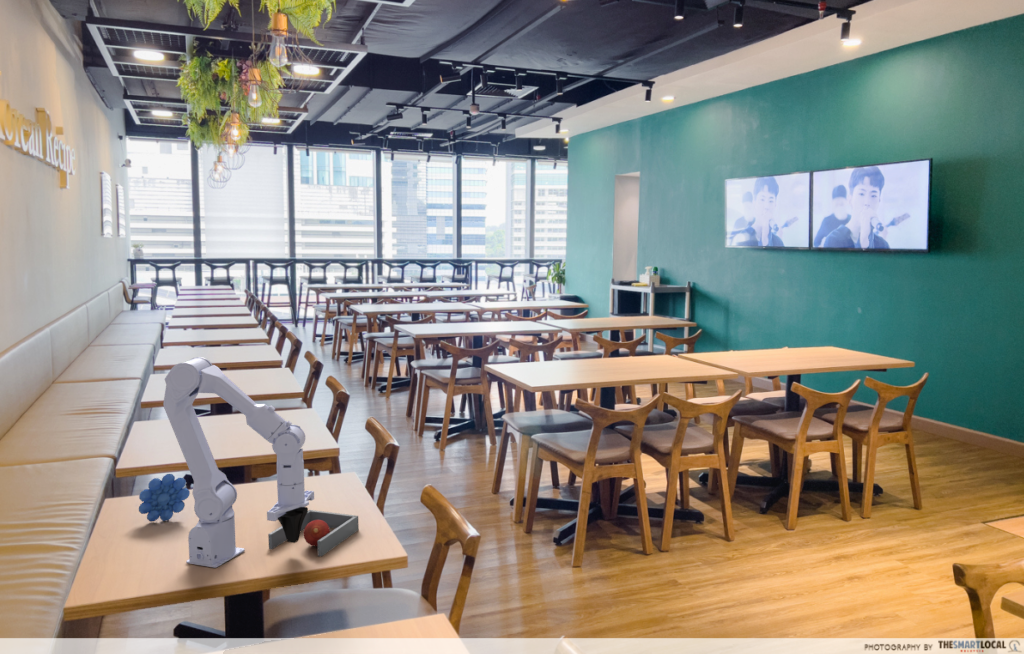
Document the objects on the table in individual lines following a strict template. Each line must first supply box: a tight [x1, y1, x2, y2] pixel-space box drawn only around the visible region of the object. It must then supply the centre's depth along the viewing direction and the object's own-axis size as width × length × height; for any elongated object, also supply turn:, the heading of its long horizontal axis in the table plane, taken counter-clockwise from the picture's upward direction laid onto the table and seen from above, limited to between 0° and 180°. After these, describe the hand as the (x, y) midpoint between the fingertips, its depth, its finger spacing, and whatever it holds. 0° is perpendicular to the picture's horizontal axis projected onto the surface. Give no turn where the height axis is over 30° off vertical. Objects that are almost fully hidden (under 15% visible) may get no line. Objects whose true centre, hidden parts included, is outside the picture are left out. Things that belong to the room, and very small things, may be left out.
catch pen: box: [267, 509, 360, 557], centre depth 165 cm, size 16×14×4 cm
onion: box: [302, 520, 331, 547], centre depth 161 cm, size 6×6×8 cm
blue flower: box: [138, 473, 191, 523], centre depth 177 cm, size 12×7×12 cm, turn 111°
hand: (292, 541), depth 157 cm, fingers closed
